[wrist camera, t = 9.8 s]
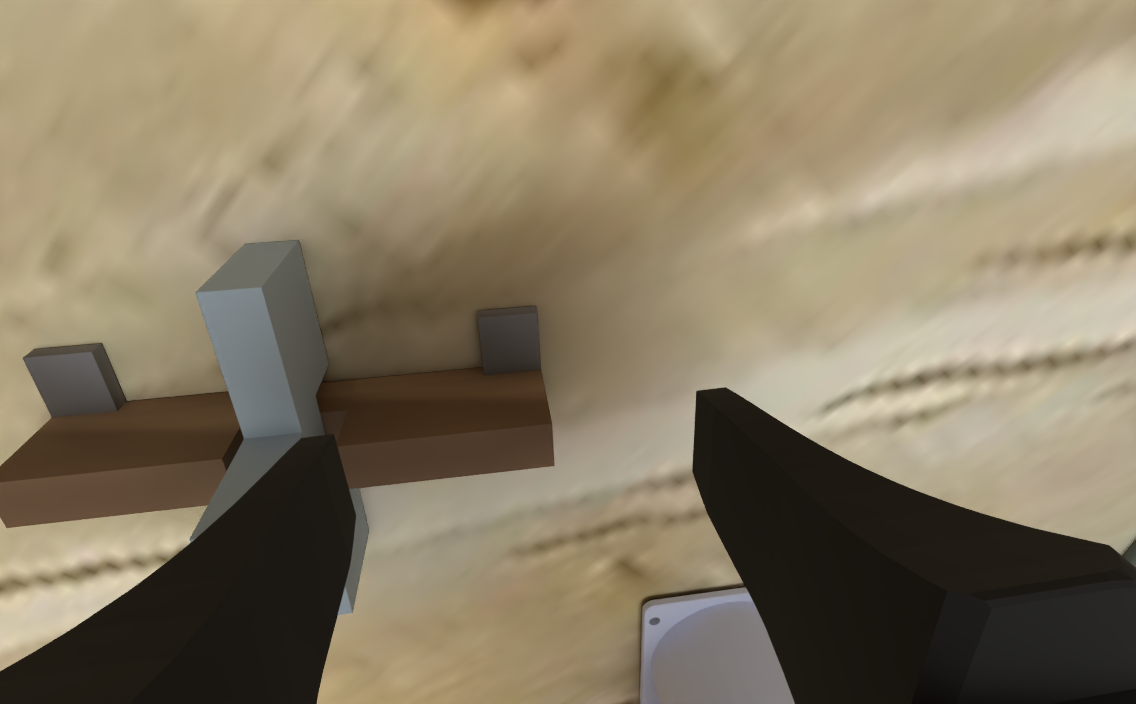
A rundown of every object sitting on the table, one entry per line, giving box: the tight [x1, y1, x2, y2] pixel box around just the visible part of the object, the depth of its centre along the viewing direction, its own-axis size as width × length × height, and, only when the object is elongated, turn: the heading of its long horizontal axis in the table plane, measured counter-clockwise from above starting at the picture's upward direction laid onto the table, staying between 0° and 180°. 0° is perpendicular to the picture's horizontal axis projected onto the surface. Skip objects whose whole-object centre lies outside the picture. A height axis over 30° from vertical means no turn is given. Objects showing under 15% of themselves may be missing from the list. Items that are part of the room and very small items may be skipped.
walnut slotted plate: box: [0, 306, 554, 528], centre depth 21 cm, size 6×16×4 cm, turn 92°
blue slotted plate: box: [190, 240, 369, 615], centre depth 19 cm, size 12×2×8 cm, turn 2°
